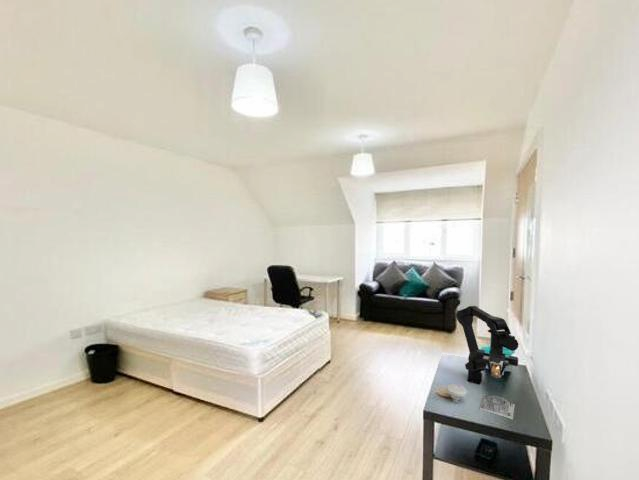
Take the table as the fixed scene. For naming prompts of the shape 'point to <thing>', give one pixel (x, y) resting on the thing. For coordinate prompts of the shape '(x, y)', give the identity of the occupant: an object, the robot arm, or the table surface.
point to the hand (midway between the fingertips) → (495, 373)
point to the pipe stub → (496, 370)
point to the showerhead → (456, 391)
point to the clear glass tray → (498, 406)
